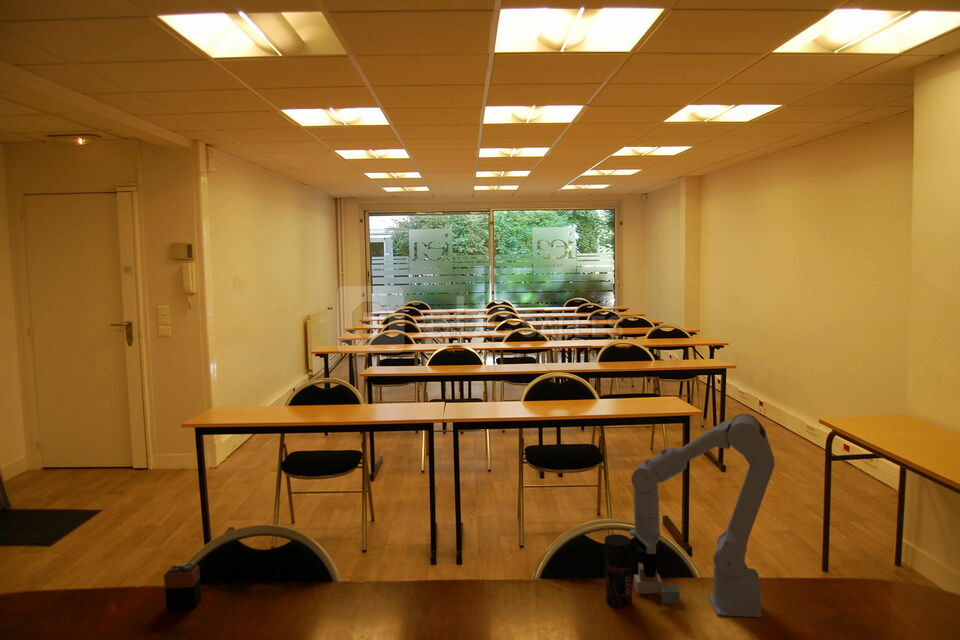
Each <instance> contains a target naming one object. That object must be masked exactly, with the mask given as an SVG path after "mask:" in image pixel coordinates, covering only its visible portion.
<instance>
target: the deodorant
mask: <svg viewBox="0 0 960 640" xmlns="http://www.w3.org/2000/svg"><path fill="white" fill-rule="evenodd" d="M631 542H632V541H631V538H630V537H628V536H627V535H624V534H621V533H615V534H614V533H612V534H608V535H605V538H604V563H605V564H604V565H605V567H604V568H605V571H604V572H605V602H606V604H607V605H608V606H609V607H611V608H613V609H617V610H626V609H628V608H630V607H632V605H633V594H632V593H633V587H632V586H633V584H632V583H633V582H632V581H633V580H632V543H631Z"/></svg>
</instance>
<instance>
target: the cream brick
mask: <svg viewBox="0 0 960 640" xmlns="http://www.w3.org/2000/svg"><path fill="white" fill-rule="evenodd" d="M659 584H663V580H662V579H661V576H660V574H658V573H657V582H641V581H640V578H639V574H633V586H634V588H635V591H636V594H639V595H640V594H660V585H659Z"/></svg>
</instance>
